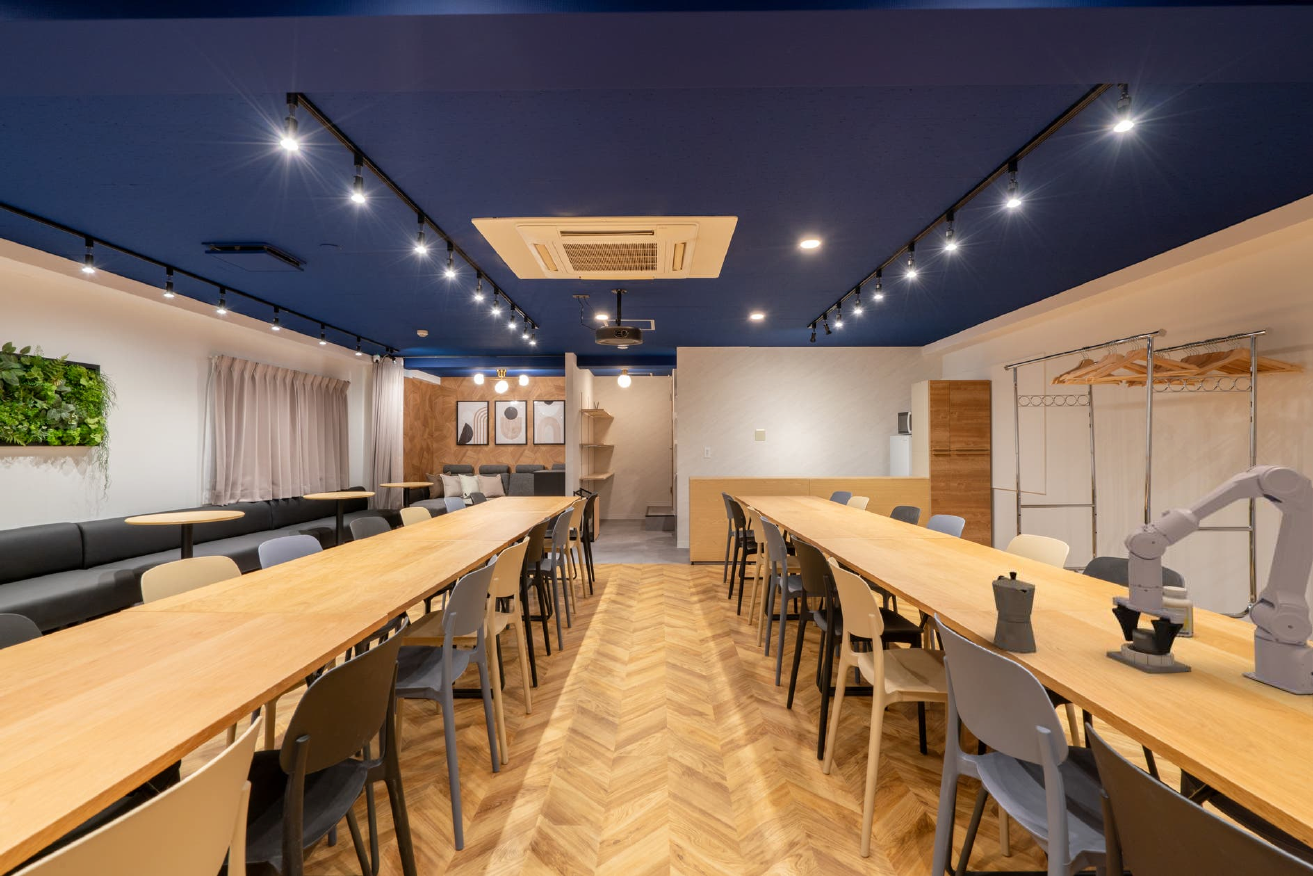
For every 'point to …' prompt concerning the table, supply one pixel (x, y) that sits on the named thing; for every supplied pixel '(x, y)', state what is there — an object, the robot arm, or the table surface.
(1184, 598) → the pill bottle
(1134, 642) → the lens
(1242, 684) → the table surface
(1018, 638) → the coffeepot
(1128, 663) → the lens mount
